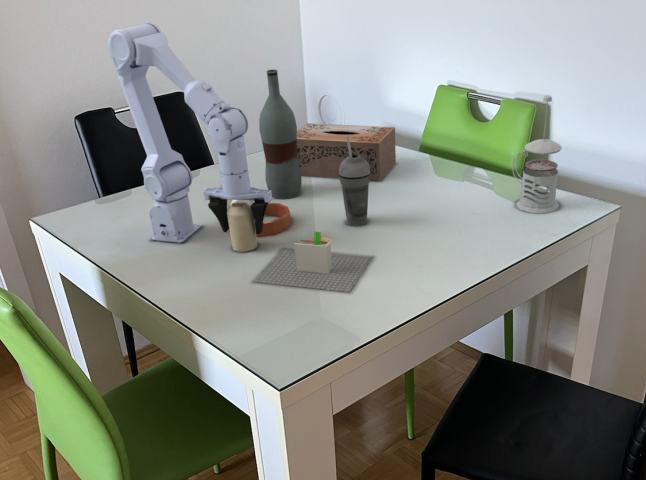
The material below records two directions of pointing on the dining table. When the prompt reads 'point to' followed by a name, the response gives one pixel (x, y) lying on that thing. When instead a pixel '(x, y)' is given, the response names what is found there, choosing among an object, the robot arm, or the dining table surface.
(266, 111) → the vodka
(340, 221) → the dining table surface
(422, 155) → the dining table surface
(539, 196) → the french press
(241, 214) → the candle
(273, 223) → the orange faceted bracelet
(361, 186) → the beverage cup
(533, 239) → the dining table surface
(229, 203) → the sprinkles bottle
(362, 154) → the tissue box cover
